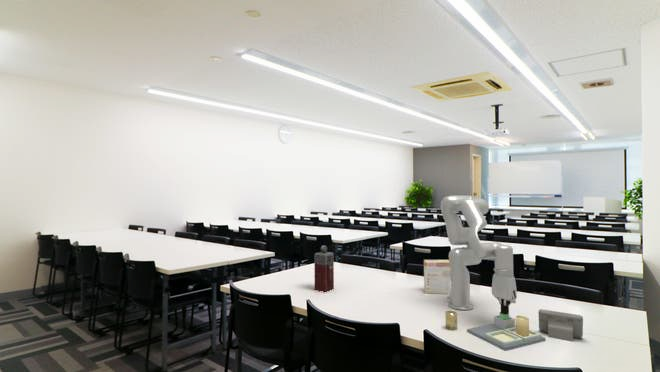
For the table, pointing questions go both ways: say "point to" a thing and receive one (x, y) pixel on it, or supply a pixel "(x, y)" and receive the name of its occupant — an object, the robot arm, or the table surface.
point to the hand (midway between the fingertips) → (504, 313)
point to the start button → (503, 316)
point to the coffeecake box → (437, 277)
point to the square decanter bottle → (324, 270)
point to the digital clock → (561, 324)
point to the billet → (451, 320)
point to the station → (508, 333)
